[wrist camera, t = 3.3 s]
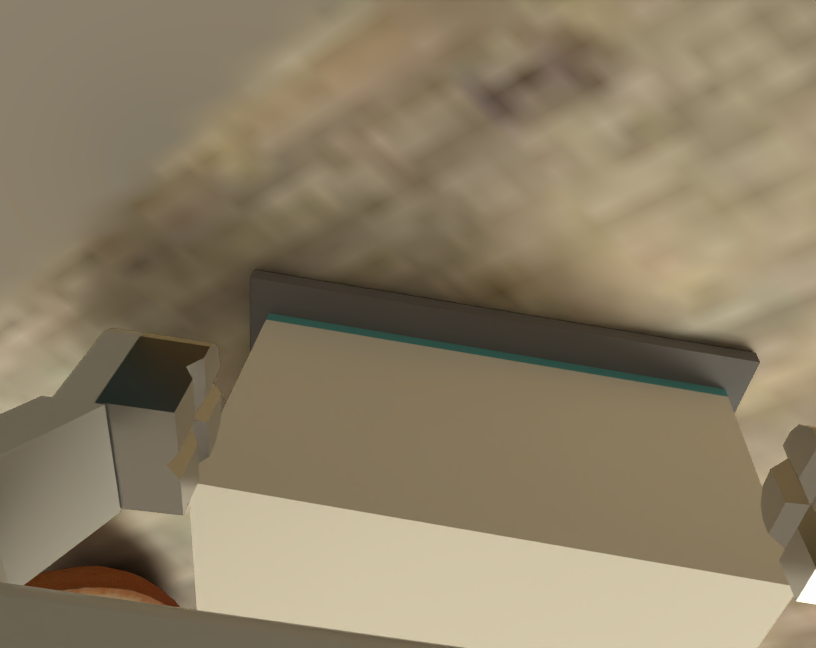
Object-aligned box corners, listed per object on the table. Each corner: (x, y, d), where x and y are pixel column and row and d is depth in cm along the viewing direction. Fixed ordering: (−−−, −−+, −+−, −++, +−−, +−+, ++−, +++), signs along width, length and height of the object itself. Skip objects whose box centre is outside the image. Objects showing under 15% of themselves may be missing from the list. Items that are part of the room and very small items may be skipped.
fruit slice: (-16, 536, 27) (-108, 664, 23) (118, 486, 25) (42, 619, 21) (134, 660, 31) (77, 790, 27) (263, 628, 29) (221, 764, 25)
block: (725, 389, 19) (799, 587, 14) (653, 539, 23) (692, 740, 18) (269, 313, 20) (188, 482, 15) (266, 472, 23) (199, 653, 18)
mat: (755, 352, 19) (759, 362, 19) (542, 783, 33) (542, 793, 32) (254, 269, 19) (250, 277, 19) (252, 731, 33) (249, 740, 33)
